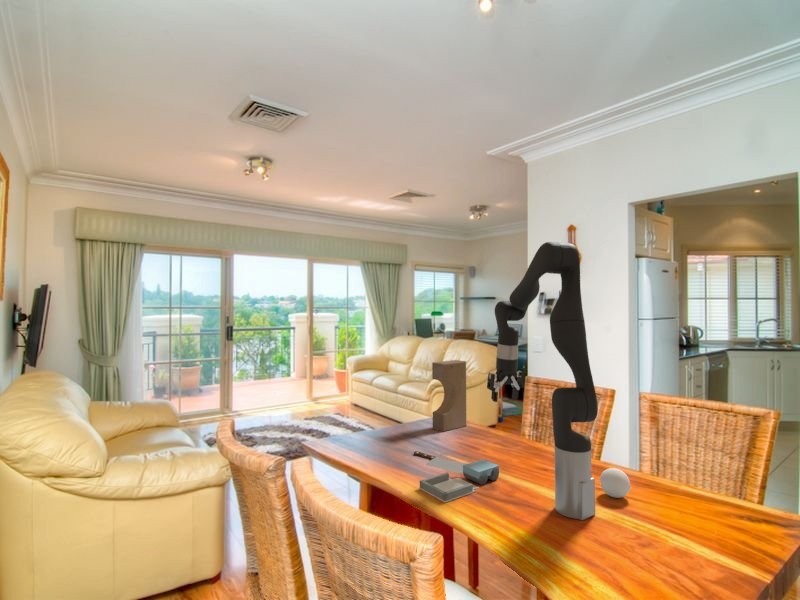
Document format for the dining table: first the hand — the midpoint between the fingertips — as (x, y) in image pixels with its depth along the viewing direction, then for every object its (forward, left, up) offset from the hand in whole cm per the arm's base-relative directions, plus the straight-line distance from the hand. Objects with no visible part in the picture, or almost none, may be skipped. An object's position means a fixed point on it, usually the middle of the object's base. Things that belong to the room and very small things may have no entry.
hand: (504, 400), depth 155 cm
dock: (-7, +33, -22) cm, 40 cm away
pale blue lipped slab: (-7, +20, -22) cm, 30 cm away
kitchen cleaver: (+12, +22, -22) cm, 33 cm away
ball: (-39, -2, -22) cm, 44 cm away
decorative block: (+43, -12, -22) cm, 50 cm away
